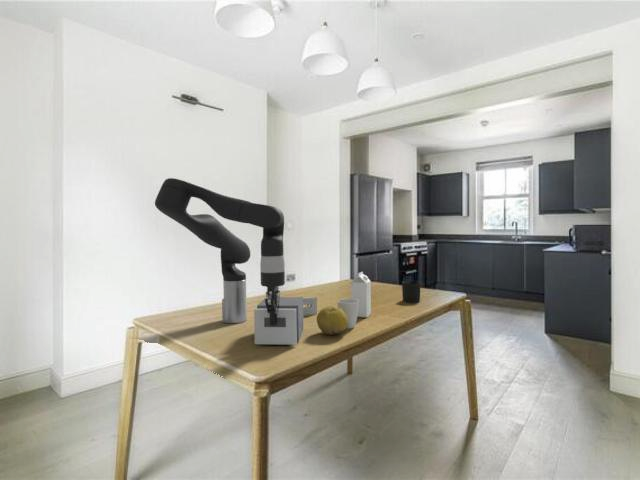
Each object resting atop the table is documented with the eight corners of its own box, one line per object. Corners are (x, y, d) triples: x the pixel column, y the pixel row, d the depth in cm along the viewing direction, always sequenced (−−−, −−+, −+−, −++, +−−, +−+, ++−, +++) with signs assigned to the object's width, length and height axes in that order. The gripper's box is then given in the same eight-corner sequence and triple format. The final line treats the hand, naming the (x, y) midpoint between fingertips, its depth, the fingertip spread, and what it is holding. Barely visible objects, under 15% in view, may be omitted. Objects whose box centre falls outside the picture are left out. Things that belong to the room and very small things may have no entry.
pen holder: (417, 303, 179) (417, 283, 179) (399, 301, 184) (399, 282, 184) (422, 300, 187) (422, 281, 187) (405, 298, 192) (405, 280, 192)
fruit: (324, 340, 120) (324, 311, 120) (311, 331, 131) (311, 305, 131) (353, 336, 125) (353, 308, 125) (338, 328, 136) (338, 302, 135)
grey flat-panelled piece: (254, 344, 115) (253, 309, 115) (264, 330, 130) (264, 300, 130) (296, 344, 114) (295, 309, 114) (301, 331, 129) (301, 300, 129)
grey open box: (257, 341, 120) (257, 305, 120) (267, 329, 135) (266, 297, 135) (298, 342, 119) (298, 305, 119) (303, 329, 134) (303, 297, 134)
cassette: (316, 313, 160) (315, 296, 160) (317, 314, 158) (317, 297, 158) (290, 316, 155) (290, 299, 155) (292, 317, 154) (291, 299, 153)
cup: (360, 324, 140) (360, 299, 140) (355, 330, 132) (355, 303, 132) (340, 323, 143) (340, 298, 142) (335, 328, 135) (334, 302, 135)
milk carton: (350, 316, 153) (350, 273, 153) (355, 313, 160) (355, 271, 159) (366, 318, 151) (366, 273, 150) (370, 314, 157) (370, 271, 157)
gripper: (280, 272, 104) (281, 331, 105) (287, 267, 117) (288, 319, 118) (255, 272, 105) (256, 330, 105) (265, 268, 118) (266, 319, 118)
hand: (273, 324), depth 112 cm, fingers closed
